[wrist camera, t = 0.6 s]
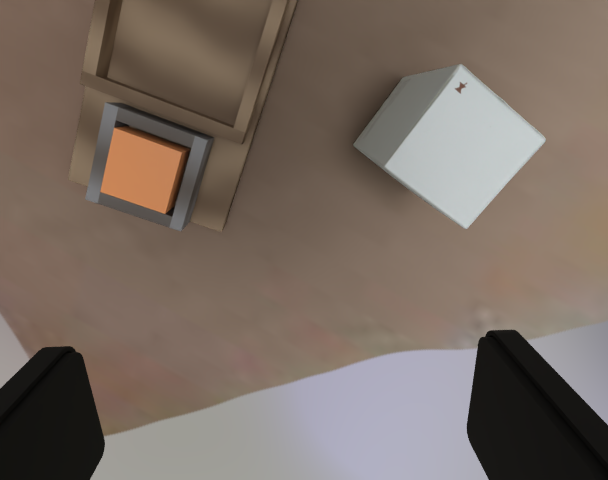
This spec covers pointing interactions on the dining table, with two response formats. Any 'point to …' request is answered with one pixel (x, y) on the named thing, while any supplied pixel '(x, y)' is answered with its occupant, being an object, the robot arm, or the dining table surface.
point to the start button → (144, 169)
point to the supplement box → (449, 141)
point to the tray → (179, 93)
